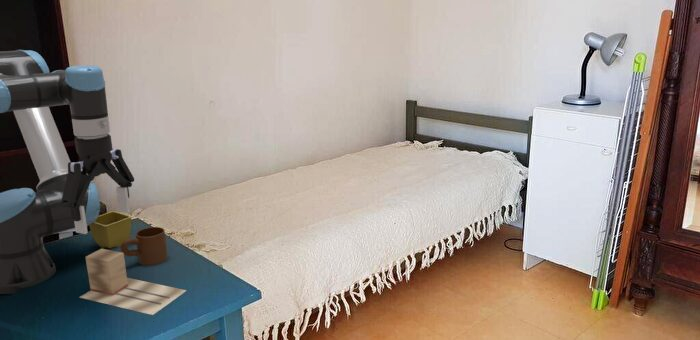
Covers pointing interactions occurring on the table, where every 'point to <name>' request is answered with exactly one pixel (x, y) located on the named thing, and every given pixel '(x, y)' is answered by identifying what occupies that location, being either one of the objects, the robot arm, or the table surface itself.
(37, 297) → the table surface
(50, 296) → the table surface
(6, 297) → the table surface
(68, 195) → the robot arm
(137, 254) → the mug
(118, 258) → the block
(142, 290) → the board
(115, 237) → the flower pot
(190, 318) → the table surface
